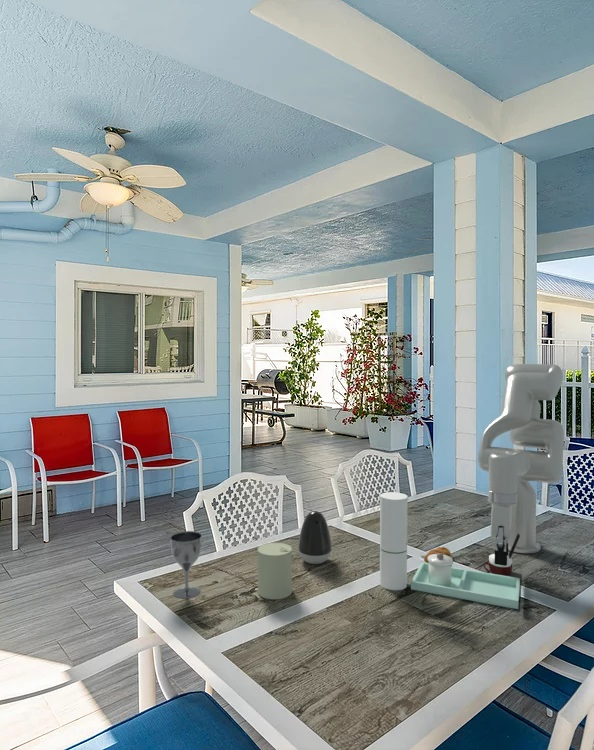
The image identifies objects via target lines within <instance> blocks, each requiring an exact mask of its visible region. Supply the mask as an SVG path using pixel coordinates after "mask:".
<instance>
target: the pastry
mask: <svg viewBox="0 0 594 750" xmlns="http://www.w3.org/2000/svg"><path fill="white" fill-rule="evenodd" d="M438 553H442V554H443V555H447V556H449V557H451V558H452V559H453V560H454V557H453V555H452V553H451V551H450V549H449V548H447V547H445V546H441V547H440V546H438V547H436V548H433V549H431V550H429V551H428V552H427V553H426V555H425V556H424V558H423V561H424V563H429V562H428V556H429V555H432V554H438Z"/></svg>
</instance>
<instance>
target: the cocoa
mask: <svg viewBox="0 0 594 750" xmlns="http://www.w3.org/2000/svg"><path fill="white" fill-rule="evenodd" d="M519 537H520V535H519V534H517V536H516V539H515V541H514V543H513V546H512V548H511V551H509V552H508V555H507V565H506V566H504V565H498V564H495V553H491V554H490V555H488V562H483V563H482V564H483V568H484V570H486V571H487V573H489V572H490V573H491V574H497V575H503V576H510V575H511V573H512V570H513V559H512V556H513V555H514V553H515V552H514V549H515V547H516V545H517V542H518V540H519ZM486 565H487V566H488V567H489V569H488V568H487V567H486Z"/></svg>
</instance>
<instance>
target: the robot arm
mask: <svg viewBox="0 0 594 750" xmlns="http://www.w3.org/2000/svg"><path fill="white" fill-rule="evenodd" d="M504 377H505V386H504V393H503V398H502V405H501V411H500V415H499V416H498V417H496V418H495V419H494V420H493V421H492V422H491V423H489V424H488V426H487V427H485V430H483V433H482V434H481V437H480V442H479V449H478V454H477V464H478V467H479V468H480V469H481V470H482V471H484V472H488V492H487V493H488V495H487V496H488V498H487V502H489V503H490V504H491V514H490V516H491V517H490V539H491V540H495V549H494V554H495V564H498V565H504V566H506V565H507V555H509V552H510V551H511V548H512V546H513V543H514V541H515V539H516V536H517V534H519V535H520V537H519V540H518V542H517V545H516V547H515V549H514V552H513V553H519V554H535V553H536V554H537V553H538V552H540V551H541V548H542V547H541V544H540V543H539V542H538V541H536V539H537V538H536V534H537V533H536V529H537V528H536V527H537V525H536V524H537V493H536V491H535V489H534V486H532V484H531V483H530V482H537V483H543V484H556V483H558V482H559V481H560V480H561V478H562V472H563V460H564V459H563V458H564V444H565V431H564V427H563V424H562V423H561V422H560V421H558V420H555V419H548V418H547V419H545V418H541V409H542V408H541V403H540V402H539V401H552V400H554V399H555V398H556V396H557V395H558V392H559V390H560V389H561V387H562V383H563V379H564V378H563V377H564V376H563V371H562V368H561V367H560V366H559V365H557V364H550V363H549V364H548V363H547V364H545V363H544V364H543V363H541V364H540V363H537V364H536V363H516V364H513V365H512V364H511V365H509V366H508V367H507V368H505V372H504ZM507 432H509V438H510V441H511V443H512V444H513V445H515V446H517V447H522V448H533V449H543V450H546V451H538V450H529V449H519V448H508V447H502V446H501V447H500V446H499V447H498V446H492V444H493V442H494V441H495V439H497V438H498V437H499V436H501V435H502V434H504V433H507Z"/></svg>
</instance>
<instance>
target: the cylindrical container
mask: <svg viewBox="0 0 594 750" xmlns="http://www.w3.org/2000/svg"><path fill="white" fill-rule="evenodd" d="M379 498H380V499H379V501H380V502H379V509H380V511H379V585H380V587H382V588H383V589H386V590H388V591H389V590H390V591H401V590H404V589H406V588H407V586H408V582H407V581H408V495H407V494H405V493H401V492H397V491H391V492H390V491H389V492H383V493H381V494H380V496H379Z"/></svg>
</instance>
